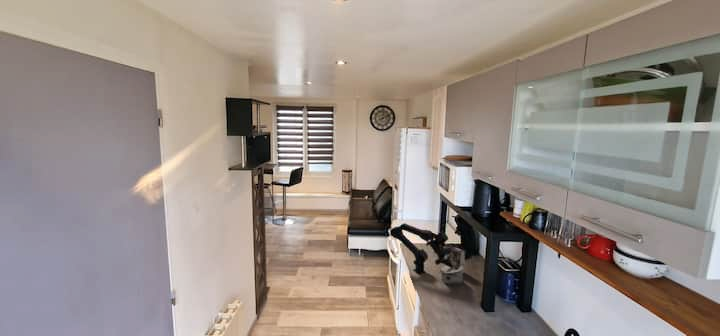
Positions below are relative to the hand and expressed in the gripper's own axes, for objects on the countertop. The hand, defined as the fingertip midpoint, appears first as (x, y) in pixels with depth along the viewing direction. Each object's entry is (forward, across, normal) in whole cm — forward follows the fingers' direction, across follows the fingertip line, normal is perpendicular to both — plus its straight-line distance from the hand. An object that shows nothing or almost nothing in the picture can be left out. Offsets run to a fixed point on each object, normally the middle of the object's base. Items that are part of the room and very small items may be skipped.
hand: (452, 267), depth 191 cm
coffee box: (+6, +16, +8) cm, 18 cm away
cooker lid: (+1, 0, +1) cm, 1 cm away
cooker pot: (+7, 0, +7) cm, 10 cm away
